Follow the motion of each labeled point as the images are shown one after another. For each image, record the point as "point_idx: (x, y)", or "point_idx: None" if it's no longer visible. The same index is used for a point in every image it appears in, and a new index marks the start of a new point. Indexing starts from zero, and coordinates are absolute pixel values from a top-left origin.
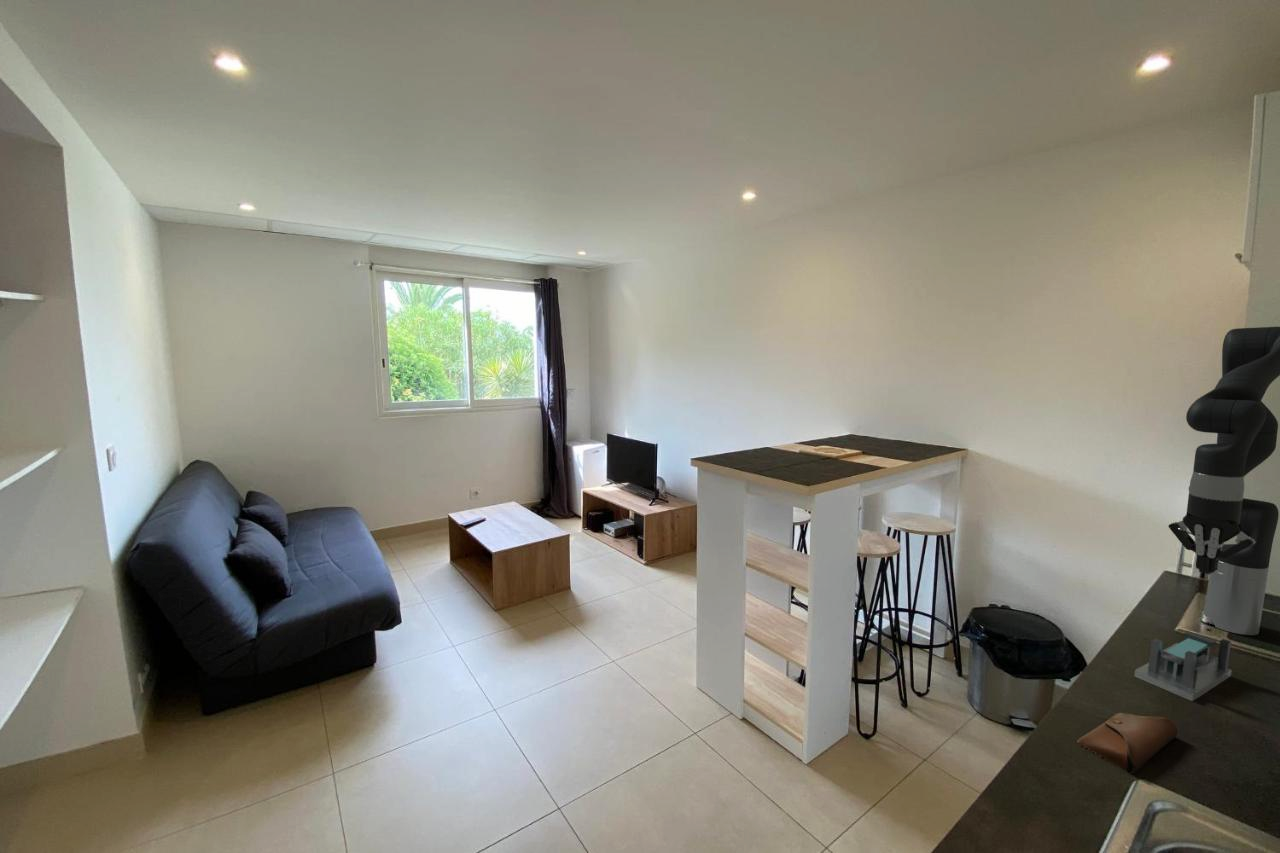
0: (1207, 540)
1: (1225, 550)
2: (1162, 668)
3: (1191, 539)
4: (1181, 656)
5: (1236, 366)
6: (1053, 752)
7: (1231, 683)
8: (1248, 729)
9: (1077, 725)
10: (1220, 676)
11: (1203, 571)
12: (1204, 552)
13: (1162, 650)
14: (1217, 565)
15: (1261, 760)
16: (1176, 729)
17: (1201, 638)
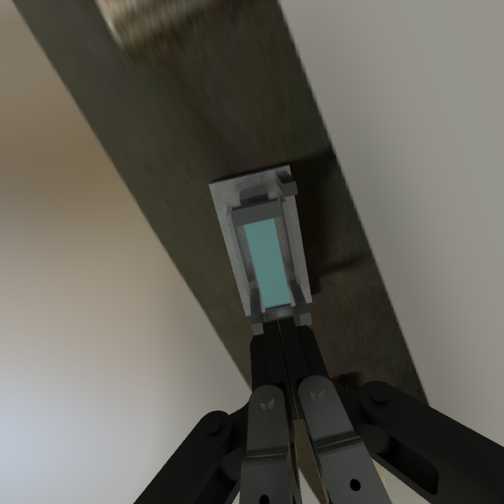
0: (296, 502)
1: (401, 480)
2: (253, 275)
3: (203, 482)
4: (283, 299)
5: None
6: (314, 470)
7: (300, 188)
8: (367, 292)
9: (296, 434)
10: (296, 211)
11: (285, 357)
12: (295, 442)
13: (241, 272)
14: (318, 348)
15: (397, 335)
16: (347, 386)
17: (262, 217)
